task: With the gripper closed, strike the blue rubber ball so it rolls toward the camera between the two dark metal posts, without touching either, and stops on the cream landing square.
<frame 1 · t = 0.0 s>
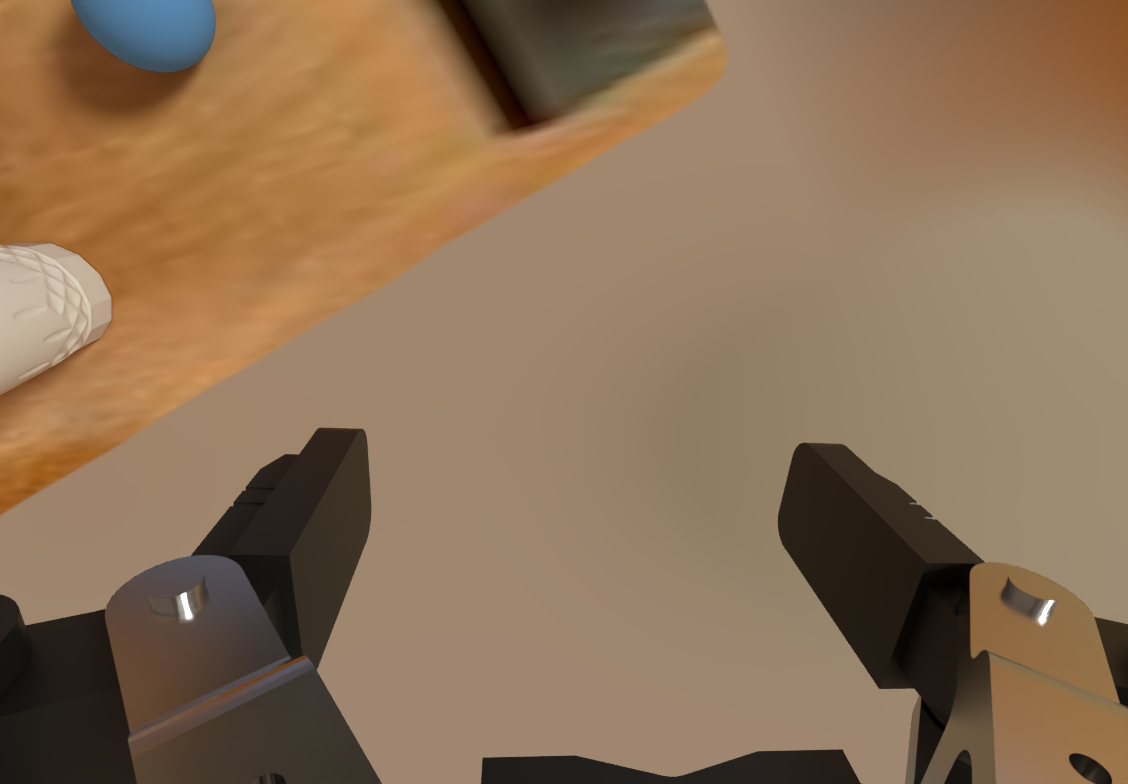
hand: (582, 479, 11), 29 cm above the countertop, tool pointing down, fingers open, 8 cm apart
ball: (145, 3, 29), on the countertop
white cup: (58, 295, 37), on the countertop
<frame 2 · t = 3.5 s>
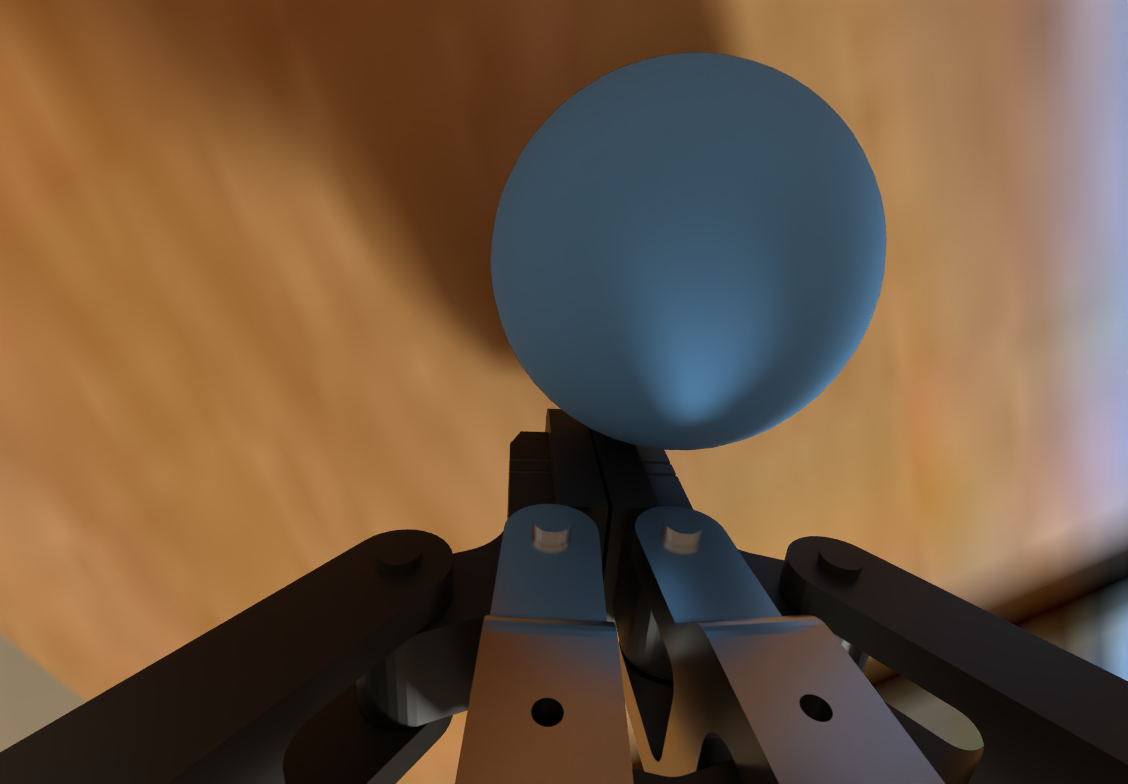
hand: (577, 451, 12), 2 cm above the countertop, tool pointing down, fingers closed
ball: (676, 265, 10), on the countertop
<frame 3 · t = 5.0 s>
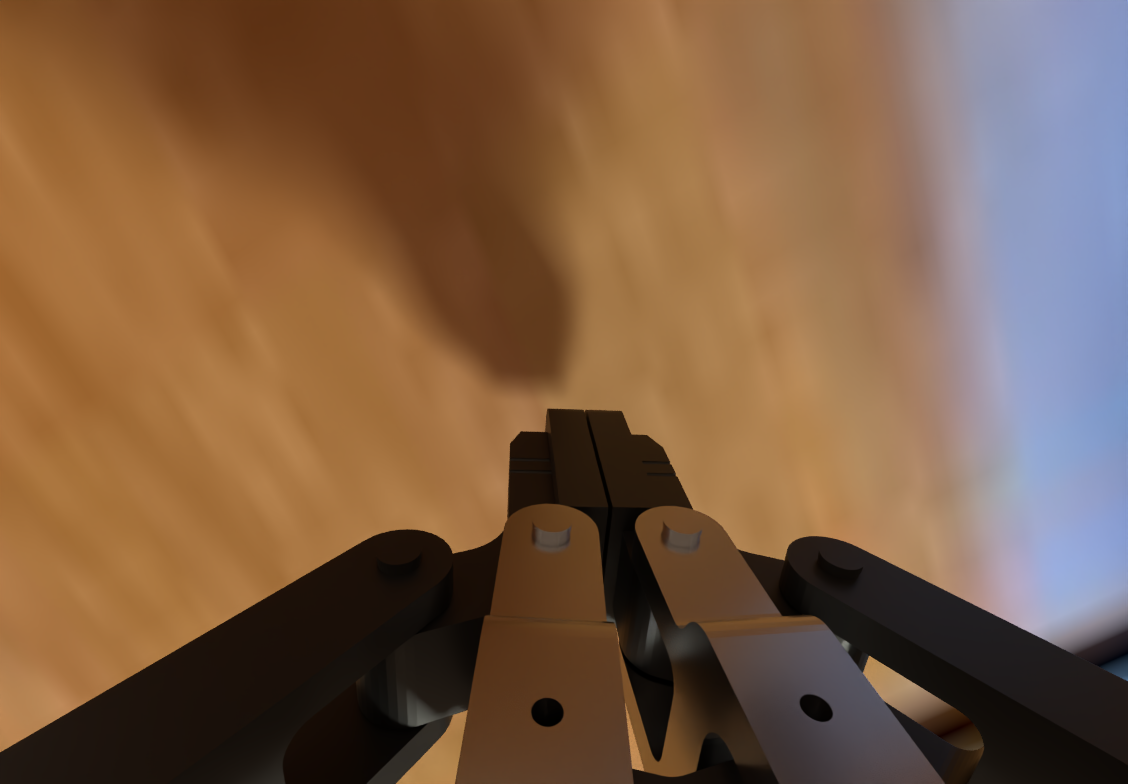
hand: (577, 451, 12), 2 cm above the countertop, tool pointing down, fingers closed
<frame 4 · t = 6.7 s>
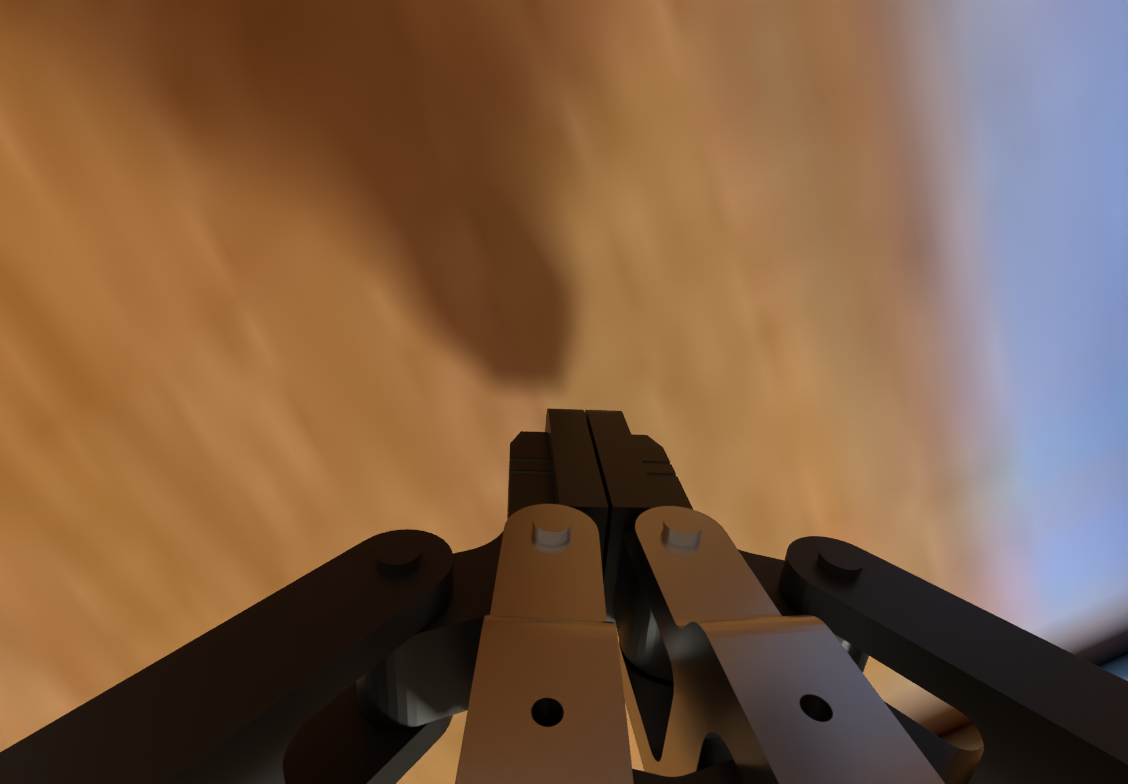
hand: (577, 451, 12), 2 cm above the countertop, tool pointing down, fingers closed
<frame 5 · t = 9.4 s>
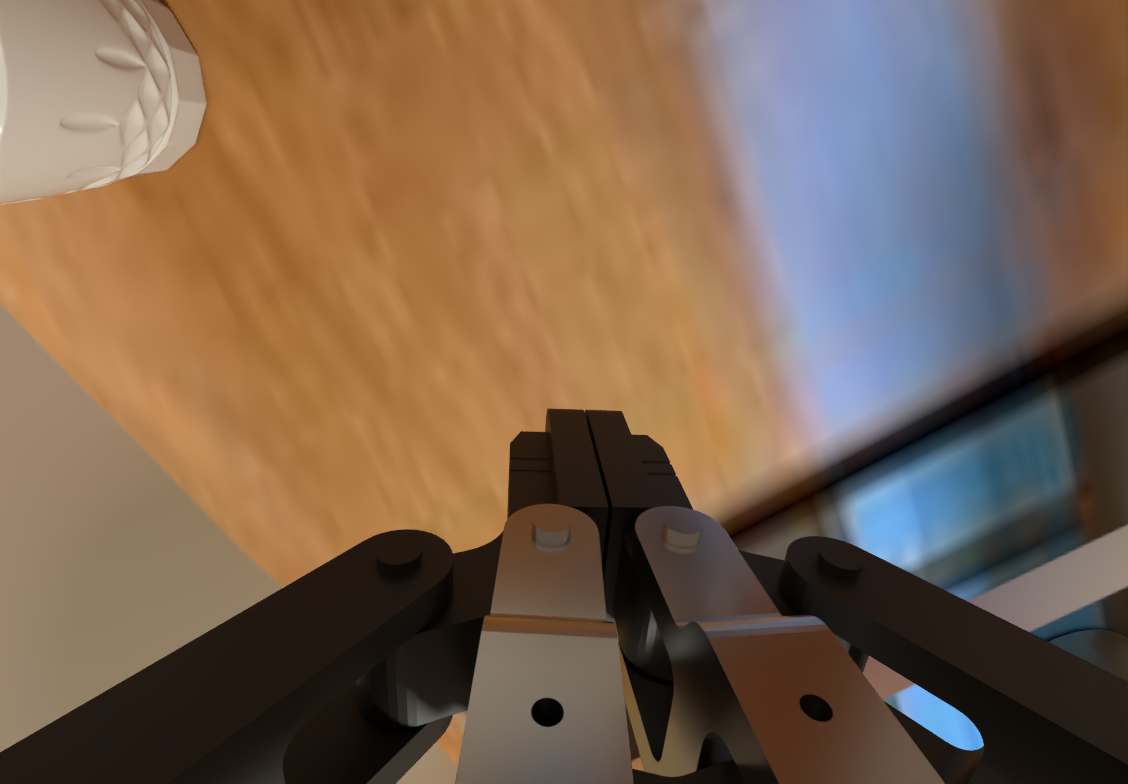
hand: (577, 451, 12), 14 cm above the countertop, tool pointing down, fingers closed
white cup: (111, 76, 21), on the countertop
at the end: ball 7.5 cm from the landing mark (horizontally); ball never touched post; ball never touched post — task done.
